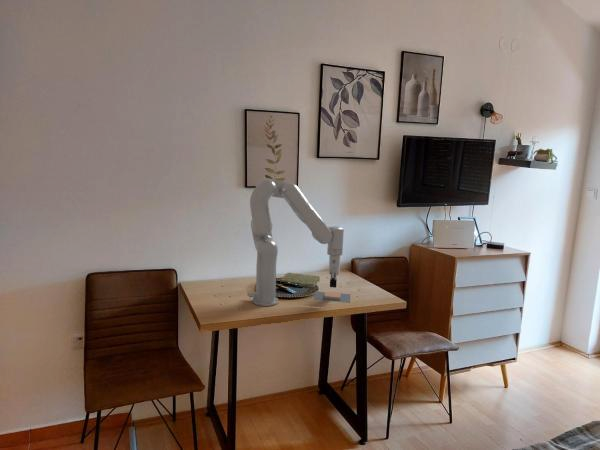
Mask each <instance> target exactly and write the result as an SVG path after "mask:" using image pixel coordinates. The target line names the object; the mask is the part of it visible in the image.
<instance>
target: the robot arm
mask: <svg viewBox="0 0 600 450" xmlns="http://www.w3.org/2000/svg"><path fill="white" fill-rule="evenodd" d="M271 197H272V198H273V197H274V198H279V199H280V198H281V199H284V200H285V202H286V203H287V204H288V205H289V207H290V209H291V210H292V211H293V213H294V214H295V216H297V218H298V219H299V220H300V221H301V222H302V223H304V224H305V226H306V227H307V228H308V229H309V230H310V232H311V236H312V237H313V239H314V240H315V241H317V242H318V243H319V244H322V245H326V244H327V252H326V253H327V255H328V256H329V260H328V262H329V263H328V274H329V275H330V279H329V288H337V276H339V275H340V272H341V270H340V268H341V256H343V249H344V234H345V233H344V228H343V227H341V226H336V225H335V226H333V225H332V226H327V224H326V223H325V221H323V219H322V218H321V216H320V215H319V213H318V212H317V211H316V210H315V208H314V207H313V206H312V205H311V203H310V202H309V200H308V199H307V197H306V196H305V195H304V193H303V192H302V191H301V189H300V188H299V187H298V185H296V184H295V183H294V182H291V181H285V180H278V179H273V178H269V177H263V178H260V179H259V180H257V182H256V184H255V188H254V189H253V190H252V192H251V195H250V199H249V207H250V214H251V221H250V228H251V233H252V238H253V239H252V240H253V243H254V247H255V250H256V253H257V254H256V272H255V273H256V277H255V280H256V281H255V291H254V292H252V291H248V292H247V296H248V298H252V303H253V304H255V305H257V306H259V307H260V306H261V307H269V306H270V307H271V306H275V305H277V304H278V303H279V298H278V297H276V293H277V292H276V291H277V289H276V287H277V261H278V253H279V252H278V251H279V250H278V246H277V243H276V242H275V240H274V238H273V233H272V231H273V223H272V220H271V219H272V218H271V214H270V208H269V200H270V199H271Z"/></svg>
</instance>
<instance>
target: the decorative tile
mask: <svg viewBox="0 0 600 450" xmlns="http://www.w3.org/2000/svg"><path fill="white" fill-rule="evenodd" d="M320 278H321V277H320V276H319V275H313V274H302V273H292V272H286V273H285V274H284V276H283V277H282V278H281V280H280V283H281V282H290V283H293V284H297V285H299V286H298V287H302V288H303V287H305V288H315V287H316V285H317V283H318V282H320Z"/></svg>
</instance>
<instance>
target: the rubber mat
mask: <svg viewBox="0 0 600 450" xmlns="http://www.w3.org/2000/svg"><path fill="white" fill-rule="evenodd" d="M324 295H325V291H316V292H315V294H314V298H313V300H315V301H325V302H326V301H328V302H338V303H351V295H352V294H351V293H341V297H340V300H330V299H324Z"/></svg>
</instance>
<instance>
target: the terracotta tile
mask: <svg viewBox="0 0 600 450" xmlns="http://www.w3.org/2000/svg"><path fill="white" fill-rule="evenodd" d="M324 292H325V295H324V299H330V300H340V297H341V294H342V292H339V291H327V290H326V291H324Z"/></svg>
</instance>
